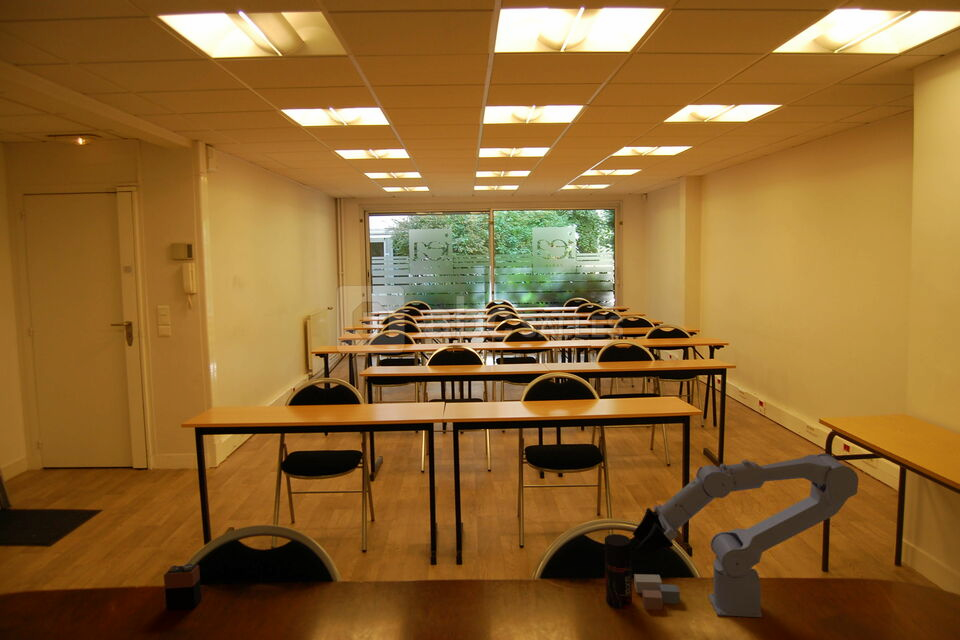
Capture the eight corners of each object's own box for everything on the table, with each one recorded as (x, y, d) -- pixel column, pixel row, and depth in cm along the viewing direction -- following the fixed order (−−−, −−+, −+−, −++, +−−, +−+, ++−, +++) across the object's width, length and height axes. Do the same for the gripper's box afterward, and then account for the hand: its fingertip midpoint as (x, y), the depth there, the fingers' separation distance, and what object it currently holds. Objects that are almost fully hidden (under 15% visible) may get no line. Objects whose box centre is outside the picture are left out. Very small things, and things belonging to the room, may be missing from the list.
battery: (194, 609, 138) (191, 569, 137) (165, 611, 137) (162, 571, 137) (202, 599, 142) (199, 560, 141) (174, 601, 142) (171, 562, 141)
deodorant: (626, 611, 129) (624, 548, 128) (601, 603, 133) (600, 541, 132) (636, 599, 134) (634, 538, 133) (612, 592, 138) (611, 532, 137)
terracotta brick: (660, 603, 133) (660, 590, 132) (662, 610, 130) (662, 597, 129) (642, 602, 133) (642, 589, 133) (644, 609, 130) (644, 597, 130)
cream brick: (659, 586, 140) (659, 574, 139) (662, 594, 136) (662, 582, 136) (634, 585, 140) (634, 574, 140) (636, 593, 137) (636, 581, 137)
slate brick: (677, 597, 135) (677, 584, 135) (679, 604, 132) (679, 591, 132) (659, 596, 135) (659, 584, 135) (661, 603, 132) (661, 591, 132)
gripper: (664, 482, 137) (622, 519, 139) (676, 505, 122) (629, 545, 124) (685, 504, 136) (642, 540, 138) (699, 530, 122) (652, 569, 124)
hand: (637, 544), depth 131 cm, fingers open, 7 cm apart
